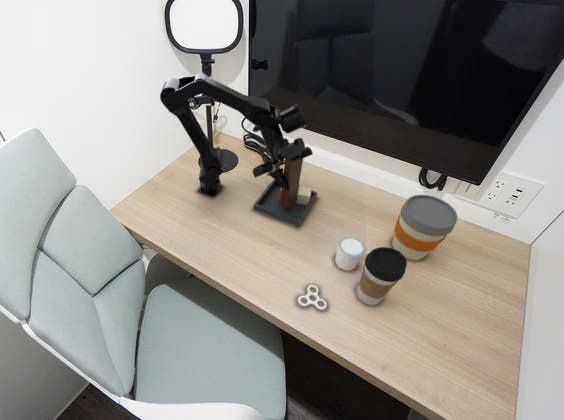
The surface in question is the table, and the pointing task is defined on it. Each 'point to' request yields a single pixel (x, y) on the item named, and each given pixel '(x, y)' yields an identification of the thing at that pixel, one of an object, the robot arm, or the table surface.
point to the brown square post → (291, 181)
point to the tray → (274, 208)
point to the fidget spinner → (311, 300)
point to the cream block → (303, 195)
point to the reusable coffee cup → (422, 225)
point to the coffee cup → (380, 274)
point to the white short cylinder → (349, 252)
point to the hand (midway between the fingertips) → (293, 188)
